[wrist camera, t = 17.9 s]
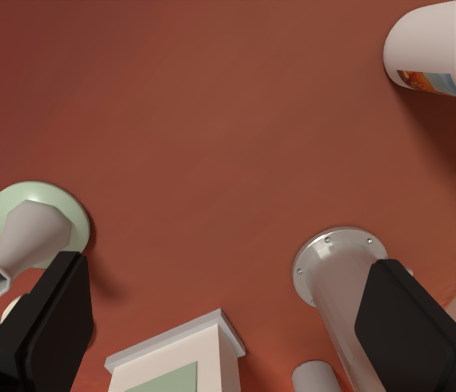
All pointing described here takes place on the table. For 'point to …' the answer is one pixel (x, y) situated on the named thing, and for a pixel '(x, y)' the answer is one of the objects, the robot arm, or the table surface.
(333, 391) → the bottle
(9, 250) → the flask
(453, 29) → the milk bottle
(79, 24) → the table surface
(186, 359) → the control unit
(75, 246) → the green pad
